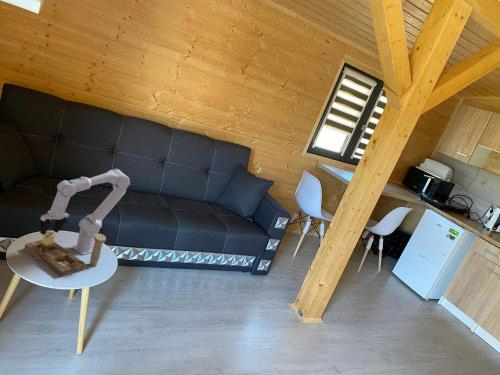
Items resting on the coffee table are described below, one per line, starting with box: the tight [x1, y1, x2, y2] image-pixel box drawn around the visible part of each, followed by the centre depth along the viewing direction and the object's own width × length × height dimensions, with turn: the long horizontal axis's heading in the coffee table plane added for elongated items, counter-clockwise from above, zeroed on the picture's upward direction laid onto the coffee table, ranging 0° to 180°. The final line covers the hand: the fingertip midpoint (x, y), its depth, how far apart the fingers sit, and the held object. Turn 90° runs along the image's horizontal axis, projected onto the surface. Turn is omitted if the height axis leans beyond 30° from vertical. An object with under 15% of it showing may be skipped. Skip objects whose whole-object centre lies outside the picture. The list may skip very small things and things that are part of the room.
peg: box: [40, 231, 55, 252], centre depth 176 cm, size 4×4×10 cm
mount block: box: [24, 239, 86, 278], centre depth 174 cm, size 12×26×3 cm, turn 62°
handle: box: [89, 233, 107, 267], centre depth 179 cm, size 5×6×15 cm
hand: (48, 232), depth 174 cm, fingers open, 7 cm apart
